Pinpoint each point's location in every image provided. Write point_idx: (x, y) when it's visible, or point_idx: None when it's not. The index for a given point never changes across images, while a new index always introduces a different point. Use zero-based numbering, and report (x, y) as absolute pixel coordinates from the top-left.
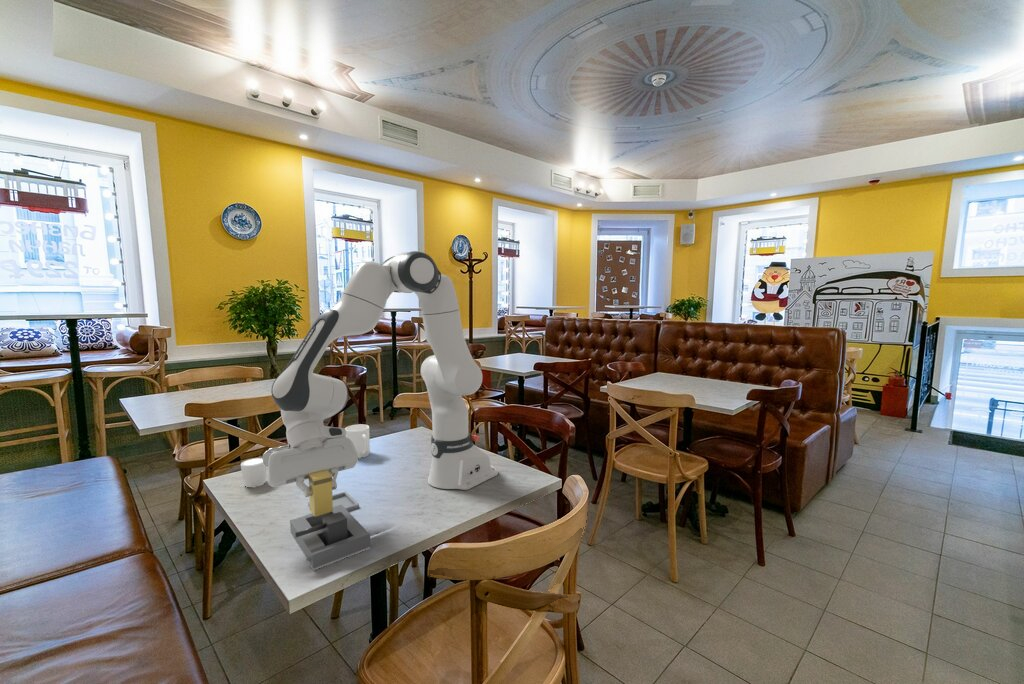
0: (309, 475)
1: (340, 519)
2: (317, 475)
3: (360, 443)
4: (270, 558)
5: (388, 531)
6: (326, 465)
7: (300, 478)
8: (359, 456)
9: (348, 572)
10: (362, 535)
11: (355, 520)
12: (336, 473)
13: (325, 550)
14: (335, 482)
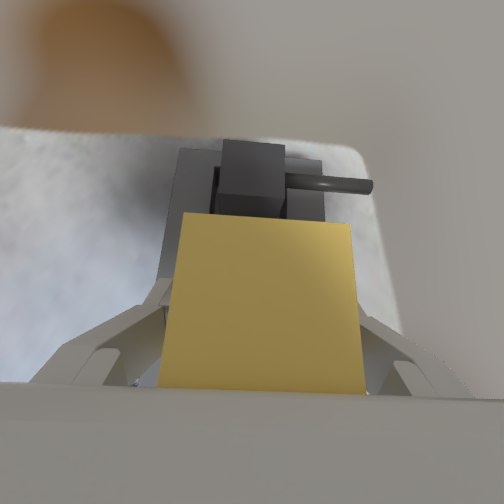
0: (360, 376)
1: (242, 146)
2: (298, 290)
3: None
4: (377, 293)
5: (111, 207)
6: (125, 429)
7: (441, 386)
8: None
9: (257, 139)
10: (196, 154)
11: (167, 235)
12: (91, 337)
13: (292, 158)
14: (155, 290)
